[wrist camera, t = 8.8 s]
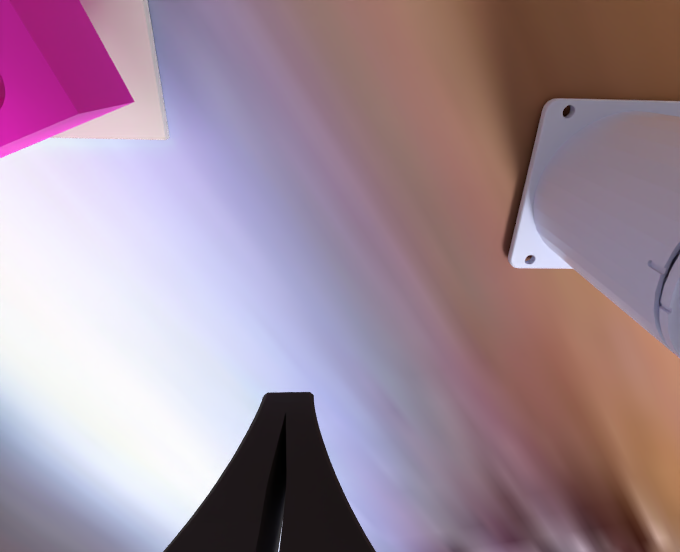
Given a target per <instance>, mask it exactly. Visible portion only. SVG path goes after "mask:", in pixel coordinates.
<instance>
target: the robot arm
mask: <svg viewBox="0 0 680 552" xmlns="http://www.w3.org/2000/svg"><path fill="white" fill-rule="evenodd" d="M568 105H569V106H570V112H569V114H568V115H567V116H566V117H564V116H563V110H564V108H565V107H566V106H568ZM529 255H532V257H531V259H530V260H528V261H525V259H526V257H527V256H529ZM508 261H509V263H510V264H511V265H512V266H513V267H515V268H569V269H574V270H576V271H577V272H578V273H579V274H580V275H581V276H583V277H584V278H585V279H586V280H587V281H589V282H590V283H591V284H592V285H593V286H595V287H596V288H597V289H598V290H599V291H600V292H602V293H603V294H604V295H605V296H606V297H608V298H609V299H610V300H611V301H612V302H613V303H615V304H616V305H617V306H618V307H619V308H621V309H622V310H623V311H624V312H625V313H627V314H628V315H629V316H630V317H631V318H632V319H634V320H635V321H636V322H637V323H638V324H640V325H641V326H642V327H643V328H644V329H646V330H647V331H648V332H649V333H650V334H651V335H653V336H654V337H655V338H656V339H657V340H659V341H660V342H661V343H662V344H663V345H665V346H666V347H667V348H668V349H669V350H670V351H672V352H673V353H674V354H676V355H677V356H678V357H679V358H680V101H658V100H615V99H573V98H554V99H551V100H549V101H548V102H547V103H546V104H545V105H544V107H543V110H542V113H541V118H540V122H539V126H538V130H537V135H536V139H535V143H534V148H533V152H532V156H531V160H530V165H529V169H528V173H527V178H526V182H525V186H524V190H523V195H522V199H521V203H520V208H519V212H518V216H517V220H516V225H515V229H514V233H513V238H512V242H511V246H510V250H509V255H508ZM282 521H283V524H282ZM281 528H282V533H281ZM280 535H281V542H280V550H279V552H376V551H375V550H374V548H373V546H372V545H371V543H370V541H369V540H368V538H367V536H366V535H365V533H364V531H363V529H362V527H361V526H360V524H359V522H358V520H357V518H356V516H355V514H354V512H353V511H352V509H351V507H350V505H349V503H348V501H347V499H346V496H345V494H344V492H343V490H342V488H341V486H340V483H339V481H338V479H337V476H336V474H335V472H334V469H333V467H332V464H331V462H330V459H329V456H328V453H327V451H326V448H325V445H324V442H323V439H322V436H321V433H320V429H319V425H318V421H317V417H316V413H315V407H314V395H313V394H312V393H310V392H281V393H267V394H265V395H264V397H263V399H262V402H261V404H260V407H259V409H258V411H257V413H256V416H255V418H254V420H253V422H252V424H251V426H250V428H249V430H248V431H247V433H246V435H245V437H244V439H243V440H242V442H241V444H240V446H239V447H238V449H237V451H236V453H235V454H234V456H233V458H232V459H231V461H230V462H229V464H228V466H227V467H226V469H225V470H224V472H223V473H222V475H221V477H220V478H219V480H218V481H217V483H216V484H215V486H214V487H213V489H212V490H211V491H210V493H209V494H208V496H207V497H206V498H205V500H204V501H203V503H202V504H201V505H200V507H199V508H198V509H197V511H196V512H195V513H194V515H193V516H192V517H191V518H190V520H189V521H188V522H187V523H186V525H185V526H184V527H183V528H182V530H181V531H180V532H179V533H178V535H177V536H176V537H175V538H174V539H173V541H172V542H171V543H170V544H169V545H168V547H167V548H166V549H165V550H164V551H163V552H278V548H279V541H280Z"/></svg>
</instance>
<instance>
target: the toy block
mask: <svg viewBox="0 0 680 552" xmlns="http://www.w3.org/2000/svg"><path fill="white" fill-rule="evenodd" d="M133 102H135V101H134V99H133V98H132V96H131V94H130V92H129V90H128V89H127V87H126V85H125V83H124V81H123V79H122V78H121V76H120V74H119V72H118V70H117V68H116V67H115V65H114V63H113V61H112V59H111V57H110V56H109V54H108V52H107V50H106V48H105V46H104V45H103V43H102V41H101V39H100V37H99V35H98V34H97V32H96V30H95V28H94V26H93V24H92V23H91V21H90V19H89V17H88V15H87V13H86V12H85V10H84V8H83V6H82V4H81V3H80V1H79V0H0V158H2V157H4V156H6V155H9V154H11V153H14V152H16V151H18V150H21V149H23V148H25V147H28V146H30V145H33V144H35V143H37V142H40V141H42V140H45V139H47V138H49V137H52V136H54V135H57V134H59V133H61V132H64V131H66V130H69V129H71V128H73V127H76V126H78V125H81V124H83V123H85V122H88V121H90V120H93V119H95V118H97V117H100V116H102V115H105V114H107V113H109V112H112V111H114V110H117V109H119V108H121V107H124V106H126V105H129V104H131V103H133Z"/></svg>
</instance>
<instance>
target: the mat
mask: <svg viewBox="0 0 680 552" xmlns="http://www.w3.org/2000/svg"><path fill="white" fill-rule="evenodd" d="M79 1H80V3H81V4H82V6H83V8H84V10H85V12H86V13H87V15H88V17H89V19H90V21H91V23H92V24H93V26H94V28H95V30H96V32H97V34H98V35H99V37H100V39H101V41H102V43H103V45H104V46H105V48H106V50H107V52H108V54H109V56H110V57H111V59H112V61H113V63H114V65H115V67H116V68H117V70H118V72H119V74H120V76H121V78H122V79H123V81H124V83H125V85H126V87H127V89H128V90H129V92H130V94H131V96H132V98H133V99H134V101H135V102H133V103H131V104H129V105H126V106H124V107H121V108H119V109H117V110H114V111H112V112H109V113H107V114H105V115H102V116H100V117H97V118H95V119H93V120H90V121H88V122H85V123H83V124H81V125H78V126H76V127H73V128H71V129H69V130H66V131H64V132H61V133H59V134H57V135H54V136H52V137H49V138H96V139H148V140H167V139H169V138H170V137H169V130H168V124H167V118H166V112H165V106H164V99H163V93H162V87H161V81H160V75H159V68H158V62H157V56H156V50H155V44H154V37H153V31H152V25H151V19H150V13H149V6H148V0H79Z"/></svg>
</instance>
